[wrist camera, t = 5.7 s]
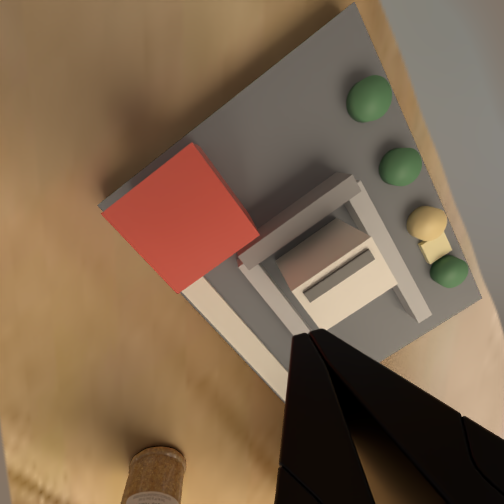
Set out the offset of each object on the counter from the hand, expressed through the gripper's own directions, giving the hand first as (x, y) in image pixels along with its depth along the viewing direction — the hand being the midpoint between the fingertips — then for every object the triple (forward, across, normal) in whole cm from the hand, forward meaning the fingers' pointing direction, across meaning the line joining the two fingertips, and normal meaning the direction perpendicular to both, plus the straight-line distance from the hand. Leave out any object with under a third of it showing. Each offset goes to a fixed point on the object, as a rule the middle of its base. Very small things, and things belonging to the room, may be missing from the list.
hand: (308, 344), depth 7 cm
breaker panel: (+11, -3, +2) cm, 11 cm away
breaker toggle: (+9, -3, +2) cm, 10 cm away
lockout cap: (+10, +3, -2) cm, 10 cm away
